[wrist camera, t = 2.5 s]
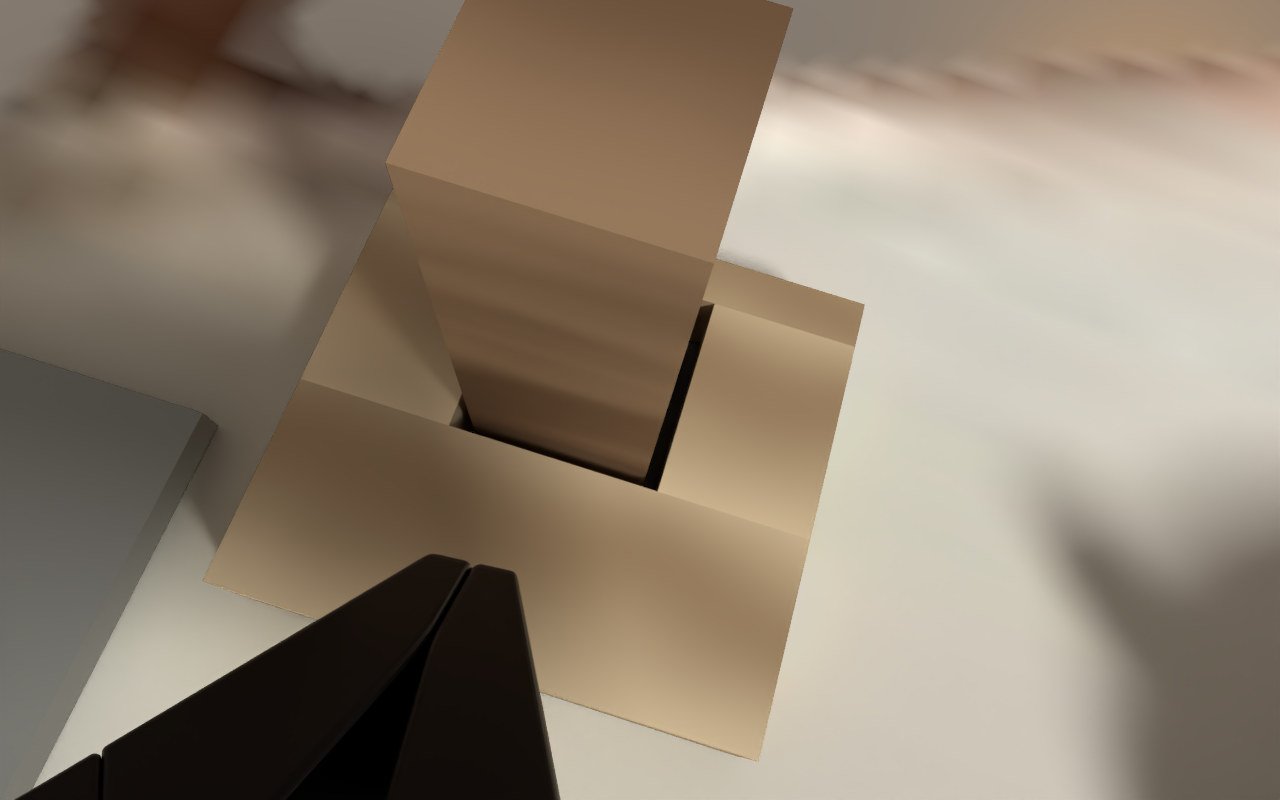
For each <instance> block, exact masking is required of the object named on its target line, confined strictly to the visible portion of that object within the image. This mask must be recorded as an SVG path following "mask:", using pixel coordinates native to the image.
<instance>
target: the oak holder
mask: <svg viewBox="0 0 1280 800" xmlns="http://www.w3.org/2000/svg"><path fill="white" fill-rule="evenodd" d="M863 310H864V304H861V303H858V302H855V301H851V300H848V299H845V298H842V297H838V296H835V295H832V294H828V293H825V292H822V291H819V290H815V289H812V288H809V287H806V286H802V285H799V284H796V283H793V282H789V281H786V280H783V279H780V278H776V277H773V276H770V275H767V274H763V273H760V272H757V271H753V270H750V269H747V268H744V267H740V266H737V265H734V264H731V263H727V262H724V261H721V260H718V259H715V262H714V265H713V269H712V272H711V275H710V278H709V281H708V284H707V287H706V290H705V293H704V296H703V300H702V303H701V306H700V309H699V312H698V315H697V318H696V321H695V324H694V327H693V331H692V334H691V337H690V340H691V341H694V342H697V343H700V347H699V351H698V354H697V357H696V361H695V364H694V367H693V370H692V374H691V377H690V380H689V384H688V387H687V390H686V393H685V397H684V400H683V403H682V406H681V410H680V413H679V416H678V420H677V423H676V426H675V429H674V433H673V436H672V439H671V442H670V446H669V449H668V452H667V456H666V459H665V462H664V465H663V469H662V472H661V475H660V479H659V482H658V485H657V488H656V491H655V490H651V489H648V488H645V487H642V486H639V485H636V484H632V483H629V482H626V481H623V480H620V479H617V478H613V477H610V476H607V475H604V474H601V473H598V472H594V471H591V470H588V469H585V468H582V467H579V466H575V465H572V464H569V463H566V462H563V461H560V460H556V459H553V458H550V457H547V456H544V455H541V454H537V453H534V452H531V451H528V450H525V449H522V448H518V447H515V446H512V445H509V444H506V443H503V442H499V441H496V440H493V439H490V438H487V437H484V436H480V435H477V434H474V433H471V430H472V427H473V425H472V422H471V419H470V416H469V413H468V410H467V407H466V404H465V401H464V398H463V395H462V392H461V389H460V386H459V383H458V380H457V377H456V374H455V371H454V368H453V365H452V362H451V359H450V356H449V353H448V350H447V347H446V344H445V341H444V338H443V335H442V332H441V329H440V326H439V323H438V320H437V317H436V314H435V311H434V308H433V305H432V302H431V299H430V296H429V293H428V290H427V287H426V284H425V281H424V278H423V275H422V272H421V269H420V266H419V263H418V260H417V257H416V254H415V251H414V248H413V245H412V242H411V239H410V236H409V233H408V230H407V227H406V224H405V221H404V218H403V215H402V212H401V209H400V206H399V203H398V200H397V197H396V194H395V191H394V188H393V189H392V191H391V193H390V195H389V197H388V199H387V201H386V203H385V205H384V207H383V210H382V212H381V214H380V216H379V218H378V220H377V222H376V224H375V226H374V228H373V230H372V232H371V234H370V236H369V238H368V240H367V243H366V245H365V247H364V249H363V251H362V253H361V255H360V257H359V259H358V261H357V263H356V265H355V267H354V269H353V271H352V273H351V275H350V278H349V280H348V282H347V284H346V286H345V288H344V290H343V292H342V294H341V296H340V298H339V300H338V302H337V304H336V306H335V308H334V311H333V313H332V315H331V317H330V319H329V321H328V323H327V325H326V327H325V329H324V331H323V333H322V335H321V337H320V339H319V341H318V344H317V346H316V348H315V350H314V352H313V354H312V356H311V358H310V360H309V362H308V364H307V366H306V368H305V370H304V372H303V374H302V377H301V379H300V381H299V383H298V385H297V387H296V389H295V391H294V393H293V395H292V397H291V399H290V401H289V403H288V405H287V407H286V410H285V412H284V414H283V416H282V418H281V420H280V422H279V424H278V426H277V428H276V430H275V432H274V434H273V436H272V438H271V440H270V443H269V445H268V447H267V449H266V451H265V453H264V455H263V457H262V459H261V461H260V463H259V465H258V467H257V469H256V471H255V473H254V476H253V478H252V480H251V482H250V484H249V486H248V488H247V490H246V492H245V494H244V496H243V498H242V500H241V502H240V504H239V506H238V508H237V511H236V513H235V515H234V517H233V519H232V521H231V523H230V525H229V527H228V529H227V531H226V533H225V535H224V537H223V539H222V541H221V544H220V546H219V548H218V550H217V552H216V554H215V556H214V558H213V560H212V562H211V564H210V566H209V568H208V570H207V572H206V574H205V577H204V579H203V581H204V582H207V583H210V584H212V585H215V586H218V587H220V588H223V589H226V590H229V591H231V592H234V593H237V594H240V595H242V596H245V597H248V598H251V599H254V600H258V601H261V602H264V603H267V604H270V605H273V606H276V607H279V608H282V609H285V610H288V611H291V612H294V613H298V614H301V615H304V616H307V617H310V618H313V619H316V620H318V619H320V618H321V617H323V616H325V615H326V614H328V613H330V612H332V611H333V610H335V609H337V608H338V607H340V606H342V605H343V604H345V603H347V602H348V601H350V600H352V599H353V598H355V597H357V596H358V595H360V594H362V593H363V592H365V591H367V590H368V589H370V588H372V587H373V586H375V585H377V584H378V583H380V582H382V581H383V580H385V579H387V578H389V577H390V576H392V575H394V574H395V573H397V572H399V571H400V570H402V569H404V568H405V567H407V566H409V565H410V564H412V563H414V562H415V561H417V560H419V559H420V558H422V557H424V556H426V555H428V554H439V555H444V556H448V557H453V558H457V559H462V560H466V561H468V562H469V563H470V564H471V567H472V568H473V567H474V566H475V565H478V564H484V565H488V566H493V567H497V568H502V569H506V570H511V571H513V572H515V573H516V575H517V577H518V580H519V586H520V591H521V596H522V601H523V607H524V612H525V617H526V622H527V628H528V633H529V638H530V643H531V648H532V654H533V659H534V664H535V669H536V675H537V680H538V685H539V690H540V692H541V693H544V694H547V695H550V696H553V697H556V698H559V699H562V700H566V701H569V702H572V703H575V704H578V705H581V706H584V707H587V708H590V709H593V710H596V711H599V712H602V713H606V714H609V715H612V716H615V717H618V718H621V719H624V720H627V721H630V722H633V723H636V724H639V725H643V726H646V727H649V728H652V729H655V730H658V731H661V732H664V733H667V734H670V735H673V736H676V737H680V738H683V739H686V740H689V741H692V742H695V743H698V744H701V745H704V746H707V747H710V748H713V749H716V750H720V751H723V752H726V753H729V754H732V755H735V756H738V757H743V758H747V759H751V760H755V761H759V757H760V752H761V748H762V744H763V740H764V735H765V731H766V727H767V722H768V718H769V714H770V709H771V705H772V701H773V697H774V692H775V688H776V684H777V679H778V675H779V671H780V666H781V662H782V658H783V654H784V649H785V645H786V641H787V636H788V632H789V628H790V624H791V619H792V615H793V611H794V606H795V602H796V598H797V593H798V589H799V585H800V581H801V576H802V572H803V568H804V563H805V559H806V555H807V550H808V546H809V542H810V538H811V533H812V529H813V525H814V520H815V516H816V512H817V507H818V503H819V499H820V495H821V490H822V486H823V482H824V477H825V473H826V469H827V464H828V460H829V456H830V452H831V447H832V443H833V439H834V434H835V430H836V426H837V422H838V417H839V413H840V409H841V404H842V400H843V396H844V391H845V387H846V383H847V379H848V374H849V370H850V366H851V361H852V357H853V353H854V348H855V344H856V340H857V336H858V331H859V327H860V323H861V318H862V314H863Z"/></svg>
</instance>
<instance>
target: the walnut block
mask: <svg viewBox="0 0 1280 800" xmlns="http://www.w3.org/2000/svg"><path fill="white" fill-rule="evenodd" d="M792 11H793V8H790V7H787V6H783V5H780V4H777V3H773V2H770V1H767V0H465V2H464V4H463V6H462V8H461V10H460V12H459V14H458V16H457V18H456V20H455V22H454V24H453V26H452V28H451V30H450V32H449V34H448V36H447V38H446V40H445V42H444V45H443V46H442V48H441V50H440V52H439V54H438V56H437V58H436V60H435V62H434V64H433V66H432V69H431V71H430V73H429V75H428V77H427V79H426V81H425V83H424V85H423V87H422V89H421V91H420V93H419V95H418V97H417V99H416V101H415V103H414V105H413V107H412V109H411V111H410V113H409V115H408V117H407V119H406V121H405V123H404V125H403V127H402V129H401V131H400V133H399V135H398V137H397V139H396V141H395V143H394V145H393V147H392V149H391V151H390V153H389V156H388V158H387V160H386V162H385V164H386V167H387V170H388V173H389V176H390V179H391V182H392V185H393V188H394V191H395V194H396V197H397V200H398V203H399V206H400V209H401V212H402V215H403V218H404V221H405V224H406V227H407V230H408V233H409V236H410V239H411V242H412V245H413V248H414V251H415V254H416V257H417V260H418V263H419V266H420V269H421V272H422V275H423V278H424V281H425V284H426V287H427V290H428V293H429V296H430V299H431V302H432V305H433V308H434V311H435V314H436V317H437V320H438V323H439V326H440V329H441V332H442V335H443V338H444V341H445V344H446V347H447V350H448V353H449V356H450V359H451V362H452V365H453V368H454V371H455V374H456V377H457V380H458V383H459V386H460V389H461V392H462V395H463V398H464V401H465V404H466V407H467V410H468V413H469V416H470V419H471V422H472V425H473V428H474V431H475V434H477V435H480V436H484V437H487V438H490V439H493V440H496V441H499V442H503V443H506V444H509V445H512V446H515V447H518V448H522V449H525V450H528V451H531V452H534V453H537V454H541V455H544V456H547V457H550V458H553V459H556V460H560V461H563V462H566V463H569V464H572V465H575V466H579V467H582V468H585V469H588V470H591V471H594V472H598V473H601V474H604V475H607V476H610V477H613V478H617V479H620V480H623V481H626V482H629V483H632V484H636V485H639V486H643V483H644V479H645V476H646V473H647V470H648V467H649V464H650V461H651V458H652V455H653V452H654V448H655V445H656V442H657V439H658V436H659V433H660V430H661V427H662V424H663V421H664V417H665V414H666V411H667V408H668V405H669V402H670V399H671V396H672V393H673V389H674V386H675V383H676V380H677V377H678V374H679V371H680V368H681V365H682V362H683V358H684V355H685V352H686V349H687V346H688V343H689V340H690V337H691V334H692V331H693V327H694V324H695V321H696V318H697V315H698V312H699V309H700V306H701V303H702V300H703V296H704V293H705V290H706V287H707V284H708V281H709V278H710V275H711V272H712V269H713V265H714V262H715V259H716V256H717V253H718V249H719V246H720V243H721V240H722V237H723V233H724V230H725V227H726V224H727V220H728V217H729V214H730V211H731V208H732V204H733V201H734V198H735V195H736V191H737V188H738V185H739V182H740V179H741V175H742V172H743V169H744V166H745V163H746V159H747V156H748V153H749V150H750V146H751V143H752V140H753V137H754V134H755V130H756V127H757V124H758V121H759V117H760V114H761V111H762V108H763V105H764V101H765V98H766V95H767V92H768V88H769V85H770V82H771V79H772V76H773V72H774V69H775V66H776V63H777V60H778V56H779V53H780V50H781V47H782V43H783V40H784V37H785V34H786V30H787V27H788V24H789V21H790V18H791V14H792Z"/></svg>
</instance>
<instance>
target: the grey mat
mask: <svg viewBox="0 0 1280 800" xmlns="http://www.w3.org/2000/svg"><path fill="white" fill-rule="evenodd" d="M217 427H218V425H216V424H215V423H214V422H213V421H212V420H210V419H209V418H208V417H207V416H206V415H204V414H203V413H201V412H198V411H195V410H191V409H188V408H185V407H182V406H179V405H176V404H173V403H169V402H166V401H163V400H160V399H157V398H154V397H151V396H147V395H144V394H141V393H138V392H135V391H132V390H129V389H125V388H122V387H119V386H116V385H113V384H110V383H107V382H103V381H100V380H97V379H94V378H91V377H88V376H85V375H81V374H78V373H75V372H72V371H69V370H66V369H63V368H59V367H56V366H53V365H50V364H47V363H44V362H41V361H37V360H34V359H31V358H28V357H25V356H22V355H19V354H15V353H12V352H9V351H6V350H3V349H0V800H14V799H16V798H18V797H20V796H21V795H23V794H25V793H27V792H28V791H30V790H32V788H33V786H34V784H35V782H36V780H37V778H38V776H39V774H40V772H41V771H42V769H43V767H44V765H45V763H46V761H47V759H48V757H49V755H50V753H51V751H52V749H53V747H54V745H55V743H56V741H57V739H58V737H59V735H60V733H61V731H62V729H63V728H64V726H65V724H66V722H67V720H68V718H69V716H70V714H71V712H72V710H73V708H74V706H75V704H76V702H77V700H78V698H79V696H80V694H81V692H82V690H83V688H84V687H85V685H86V683H87V681H88V679H89V677H90V675H91V673H92V671H93V669H94V667H95V665H96V663H97V661H98V659H99V657H100V655H101V653H102V651H103V649H104V647H105V646H106V644H107V642H108V640H109V638H110V636H111V634H112V632H113V630H114V628H115V626H116V624H117V622H118V620H119V618H120V616H121V614H122V612H123V610H124V608H125V606H126V604H127V603H128V601H129V599H130V597H131V595H132V593H133V591H134V589H135V587H136V585H137V583H138V581H139V579H140V577H141V575H142V573H143V571H144V569H145V567H146V565H147V563H148V562H149V560H150V558H151V556H152V554H153V552H154V550H155V548H156V546H157V544H158V542H159V540H160V538H161V536H162V534H163V532H164V530H165V528H166V526H167V524H168V522H169V520H170V519H171V517H172V515H173V513H174V511H175V509H176V507H177V505H178V503H179V501H180V499H181V497H182V495H183V493H184V491H185V489H186V487H187V485H188V483H189V481H190V479H191V478H192V476H193V474H194V472H195V470H196V468H197V466H198V464H199V462H200V460H201V458H202V456H203V454H204V452H205V450H206V448H207V446H208V444H209V442H210V440H211V438H212V436H213V435H214V433H215V431H216V429H217Z"/></svg>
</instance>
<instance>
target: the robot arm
mask: <svg viewBox="0 0 1280 800" xmlns="http://www.w3.org/2000/svg"><path fill="white" fill-rule="evenodd" d="M14 800H560V795H559V790H558V784H557V779H556V774H555V769H554V763H553V758H552V753H551V748H550V743H549V737H548V732H547V727H546V722H545V716H544V711H543V706H542V701H541V695H540V690H539V685H538V680H537V675H536V669H535V664H534V659H533V654H532V648H531V643H530V638H529V633H528V628H527V622H526V617H525V612H524V607H523V601H522V596H521V591H520V586H519V580H518V577H517V575H516V573H515V572H513V571H511V570H506V569H502V568H497V567H493V566H488V565H484V564H478V565H475V566H474V567H473V568H472V567H471V564H470V563H469V562H468V561H466V560H462V559H457V558H453V557H448V556H444V555H439V554H428V555H426V556H424V557H422V558H420V559H419V560H417V561H415V562H414V563H412V564H410V565H409V566H407V567H405V568H404V569H402V570H400V571H399V572H397V573H395V574H394V575H392V576H390V577H389V578H387V579H385V580H383V581H382V582H380V583H378V584H377V585H375V586H373V587H372V588H370V589H368V590H367V591H365V592H363V593H362V594H360V595H358V596H357V597H355V598H353V599H352V600H350V601H348V602H347V603H345V604H343V605H342V606H340V607H338V608H337V609H335V610H333V611H332V612H330V613H328V614H326V615H325V616H323V617H321V618H320V619H318V620H316V621H315V622H313V623H311V624H310V625H308V626H306V627H305V628H303V629H301V630H300V631H298V632H296V633H295V634H293V635H291V636H290V637H288V638H286V639H285V640H283V641H281V642H280V643H278V644H276V645H275V646H273V647H271V648H269V649H268V650H266V651H264V652H263V653H261V654H259V655H258V656H256V657H254V658H253V659H251V660H249V661H248V662H246V663H244V664H243V665H241V666H239V667H238V668H236V669H234V670H233V671H231V672H229V673H228V674H226V675H224V676H223V677H221V678H219V679H218V680H216V681H214V682H213V683H211V684H209V685H207V686H206V687H204V688H202V689H201V690H199V691H197V692H196V693H194V694H192V695H191V696H189V697H187V698H186V699H184V700H182V701H181V702H179V703H177V704H176V705H174V706H172V707H171V708H169V709H167V710H166V711H164V712H162V713H161V714H159V715H157V716H156V717H154V718H152V719H150V720H149V721H147V722H145V723H144V724H142V725H140V726H139V727H137V728H135V729H134V730H132V731H130V732H129V733H127V734H125V735H124V736H122V737H120V738H119V739H117V740H115V741H114V742H112V743H110V744H109V745H107V746H105V747H104V749H103V751H102V759H101V756H100V755H99V754H91V755H89V756H88V757H86V758H84V759H83V760H81V761H79V762H78V763H76V764H74V765H73V766H71V767H69V768H68V769H66V770H64V771H63V772H61V773H59V774H58V775H56V776H54V777H53V778H51V779H49V780H47V781H46V782H44V783H42V784H41V785H39V786H37V787H35V788H34V789H32V790H30V791H28V792H27V793H25V794H23V795H21V796H20V797H18V798H16V799H14Z"/></svg>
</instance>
